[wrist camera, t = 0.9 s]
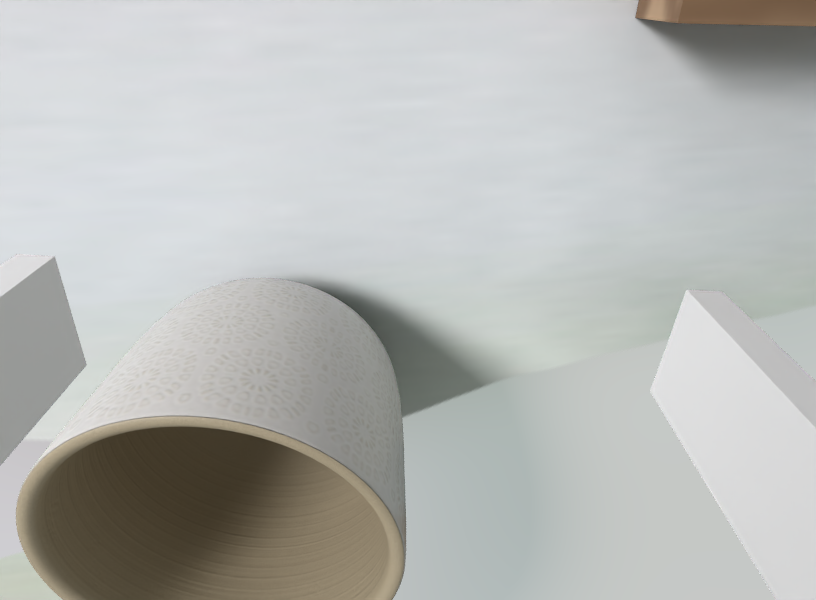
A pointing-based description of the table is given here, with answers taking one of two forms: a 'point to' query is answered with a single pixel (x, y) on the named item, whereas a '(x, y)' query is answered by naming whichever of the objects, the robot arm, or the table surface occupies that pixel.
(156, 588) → the planter
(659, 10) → the socket block
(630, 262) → the table surface
